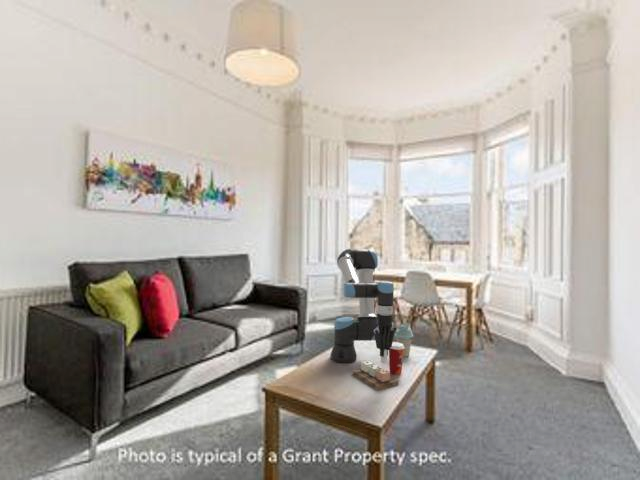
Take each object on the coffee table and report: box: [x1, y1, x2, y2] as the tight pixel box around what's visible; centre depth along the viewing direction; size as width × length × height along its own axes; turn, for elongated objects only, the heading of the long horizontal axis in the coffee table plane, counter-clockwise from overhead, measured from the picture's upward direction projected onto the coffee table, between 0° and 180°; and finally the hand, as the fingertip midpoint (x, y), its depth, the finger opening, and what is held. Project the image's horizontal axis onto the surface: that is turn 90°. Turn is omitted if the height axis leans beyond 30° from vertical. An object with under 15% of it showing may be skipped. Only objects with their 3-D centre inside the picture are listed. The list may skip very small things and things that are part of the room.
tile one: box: [360, 360, 375, 374], centre depth 180 cm, size 4×4×4 cm
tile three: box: [376, 368, 391, 383], centre depth 169 cm, size 4×4×4 cm
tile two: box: [368, 364, 382, 378], centre depth 174 cm, size 4×4×4 cm
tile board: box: [352, 368, 400, 391], centre depth 174 cm, size 20×13×2 cm, turn 30°
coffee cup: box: [388, 341, 404, 376], centre depth 183 cm, size 8×8×15 cm
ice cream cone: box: [394, 322, 414, 358], centre depth 210 cm, size 10×11×20 cm
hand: (383, 362), depth 168 cm, fingers closed
